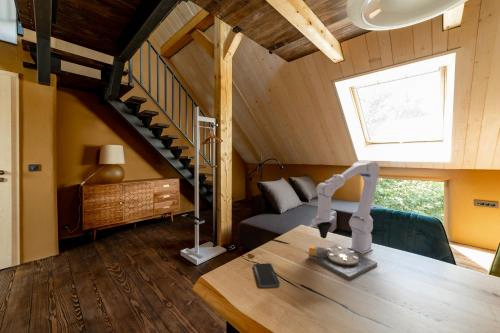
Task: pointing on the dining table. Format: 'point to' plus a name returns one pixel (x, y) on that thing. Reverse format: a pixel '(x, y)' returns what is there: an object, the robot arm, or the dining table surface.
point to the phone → (265, 275)
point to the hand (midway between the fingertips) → (323, 237)
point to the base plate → (344, 270)
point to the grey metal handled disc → (336, 255)
